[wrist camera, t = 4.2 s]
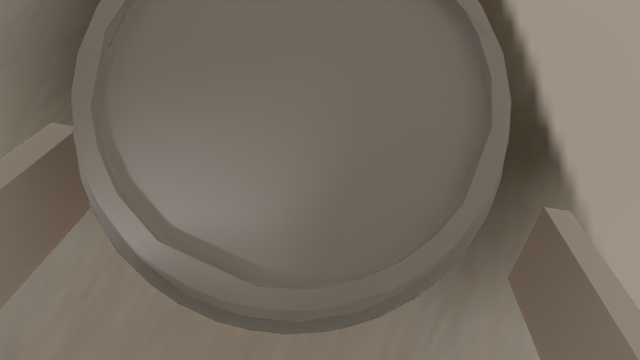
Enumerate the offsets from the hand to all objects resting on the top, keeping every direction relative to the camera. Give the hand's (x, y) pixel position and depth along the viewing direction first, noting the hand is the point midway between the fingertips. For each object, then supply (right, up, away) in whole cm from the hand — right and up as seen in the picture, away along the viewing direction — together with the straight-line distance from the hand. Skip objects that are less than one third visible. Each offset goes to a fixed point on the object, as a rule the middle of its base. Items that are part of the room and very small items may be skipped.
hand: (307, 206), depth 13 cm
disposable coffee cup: (-1, 0, +8) cm, 8 cm away
